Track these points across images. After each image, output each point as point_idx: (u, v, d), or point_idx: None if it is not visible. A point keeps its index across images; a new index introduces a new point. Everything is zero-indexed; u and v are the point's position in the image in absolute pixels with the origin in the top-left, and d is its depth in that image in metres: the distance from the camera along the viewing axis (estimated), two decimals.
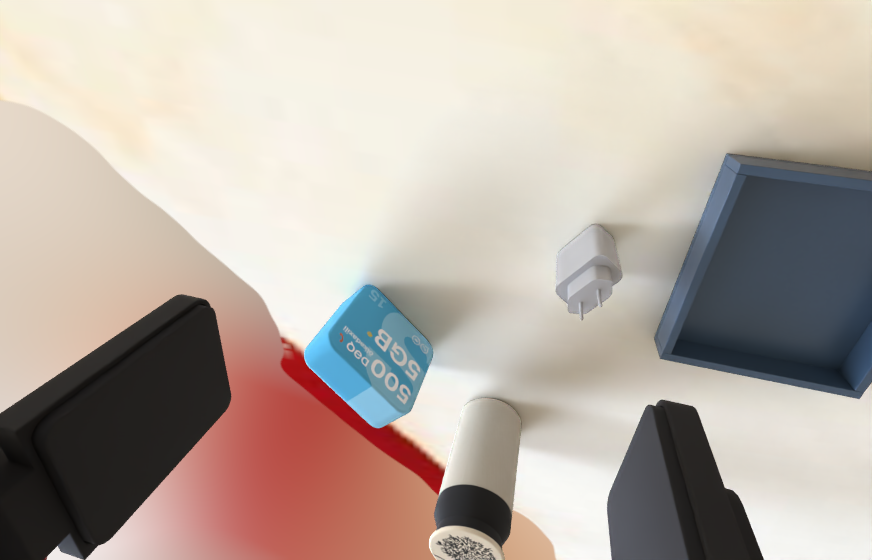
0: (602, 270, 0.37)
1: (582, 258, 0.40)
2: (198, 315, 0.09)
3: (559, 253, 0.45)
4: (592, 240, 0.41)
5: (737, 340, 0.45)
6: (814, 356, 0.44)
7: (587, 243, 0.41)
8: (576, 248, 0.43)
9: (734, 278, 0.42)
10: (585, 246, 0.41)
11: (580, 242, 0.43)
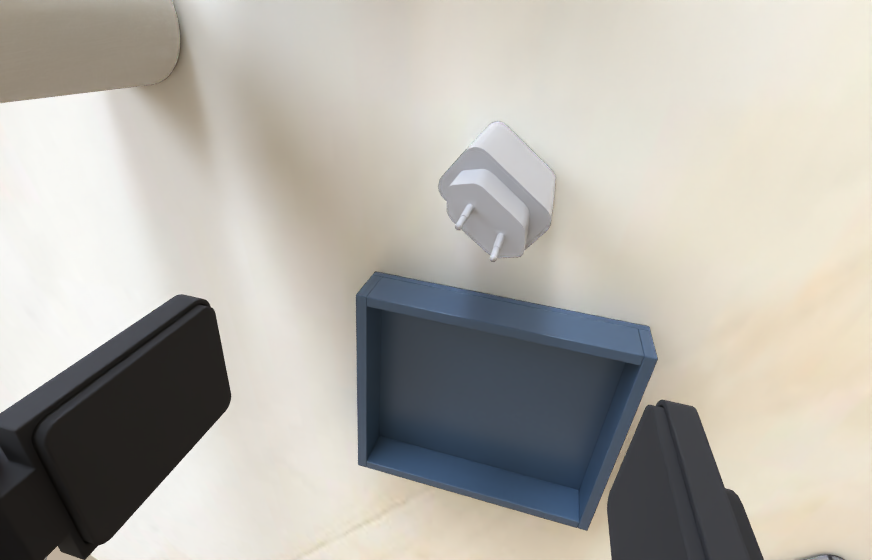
0: (527, 229, 0.21)
1: (532, 185, 0.22)
2: (198, 315, 0.09)
3: (505, 127, 0.26)
4: (550, 188, 0.24)
5: (394, 358, 0.37)
6: (390, 418, 0.40)
7: (544, 182, 0.24)
8: (528, 160, 0.25)
9: (479, 349, 0.34)
10: (540, 179, 0.24)
11: (536, 166, 0.25)
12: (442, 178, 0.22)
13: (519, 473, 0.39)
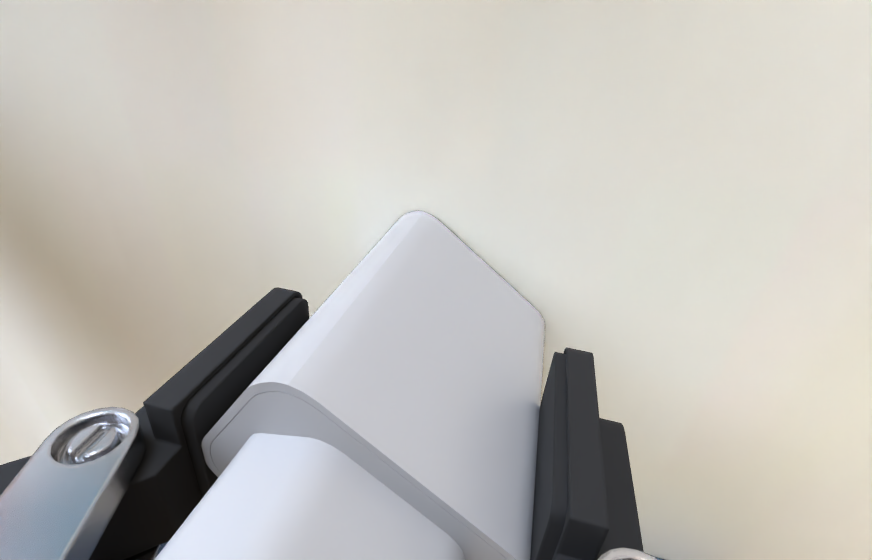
0: None
1: (476, 445, 0.08)
2: (296, 307, 0.10)
3: (432, 227, 0.12)
4: (531, 400, 0.10)
5: None
6: None
7: (515, 386, 0.10)
8: (479, 318, 0.10)
9: None
10: (505, 384, 0.09)
11: (499, 326, 0.11)
12: (207, 441, 0.07)
13: None
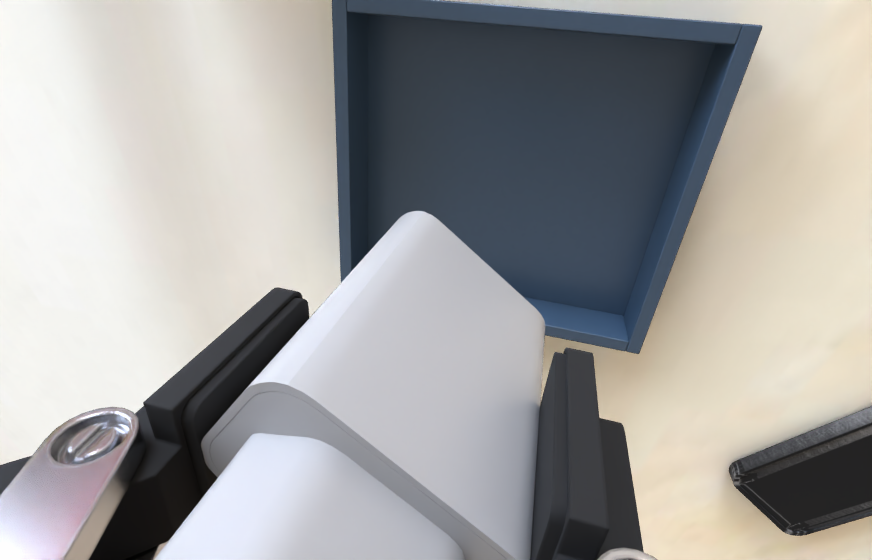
0: None
1: (476, 444, 0.08)
2: (296, 306, 0.10)
3: (432, 227, 0.12)
4: (531, 400, 0.10)
5: (386, 136, 0.28)
6: None
7: (516, 386, 0.10)
8: (479, 318, 0.10)
9: (498, 101, 0.26)
10: (505, 383, 0.09)
11: (499, 326, 0.11)
12: (207, 441, 0.07)
13: (546, 300, 0.31)
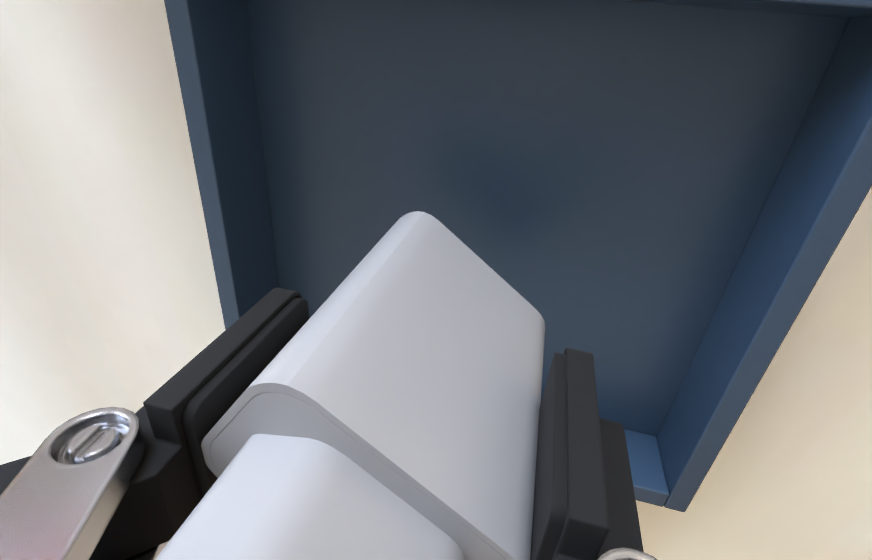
0: None
1: (477, 445, 0.08)
2: (296, 306, 0.10)
3: (432, 227, 0.12)
4: (531, 400, 0.10)
5: (292, 169, 0.18)
6: None
7: (516, 386, 0.10)
8: (479, 318, 0.10)
9: (461, 118, 0.16)
10: (504, 384, 0.09)
11: (499, 326, 0.11)
12: (207, 441, 0.07)
13: None
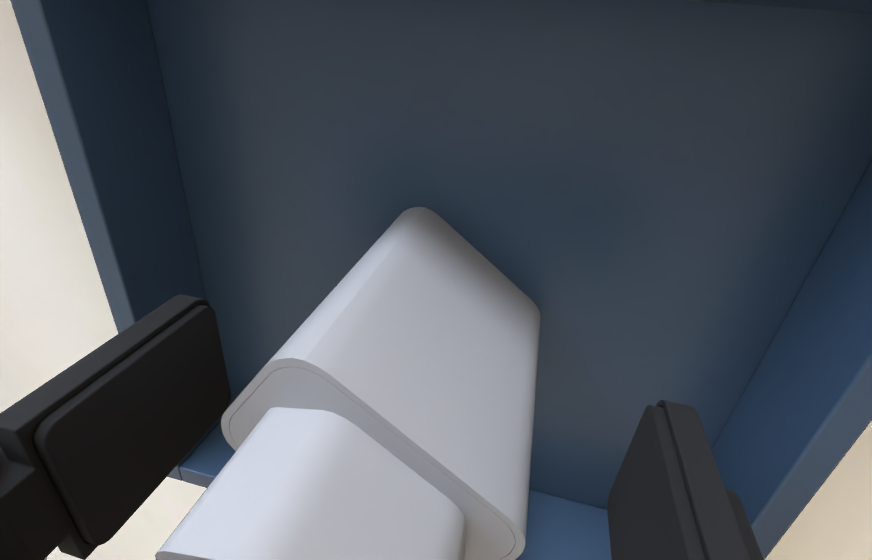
0: None
1: (476, 420, 0.08)
2: (198, 315, 0.09)
3: (432, 222, 0.12)
4: (526, 383, 0.10)
5: (219, 206, 0.15)
6: (242, 370, 0.18)
7: (512, 369, 0.10)
8: (477, 307, 0.11)
9: (423, 147, 0.12)
10: (502, 367, 0.10)
11: (496, 315, 0.11)
12: (227, 416, 0.08)
13: (530, 488, 0.17)
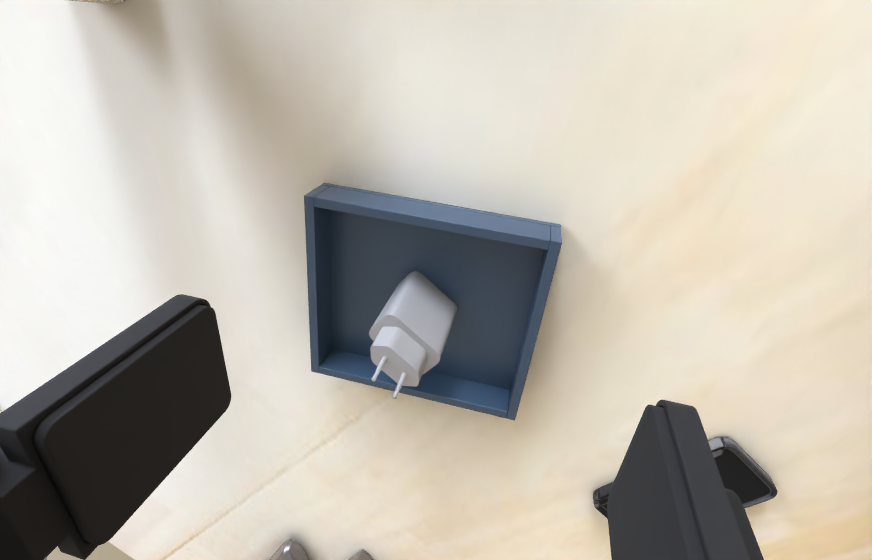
0: (423, 365, 0.33)
1: (429, 332, 0.34)
2: (198, 315, 0.09)
3: (420, 277, 0.38)
4: (446, 326, 0.36)
5: (343, 267, 0.40)
6: (341, 330, 0.44)
7: (442, 322, 0.36)
8: (433, 304, 0.37)
9: (417, 253, 0.38)
10: (439, 321, 0.36)
11: (439, 307, 0.38)
12: (371, 329, 0.34)
13: (458, 377, 0.43)
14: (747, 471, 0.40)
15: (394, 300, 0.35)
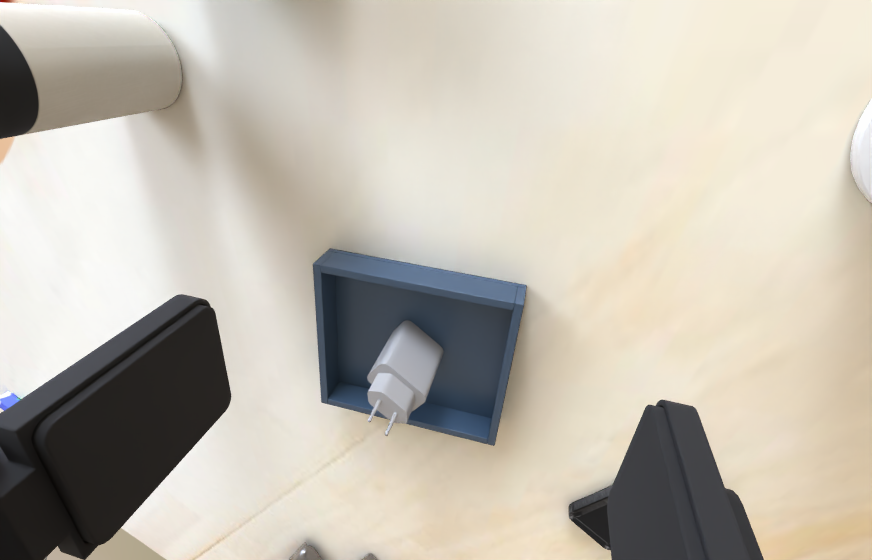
0: (412, 404, 0.40)
1: (417, 376, 0.41)
2: (198, 315, 0.09)
3: (411, 326, 0.45)
4: (432, 369, 0.43)
5: (347, 316, 0.48)
6: (346, 366, 0.51)
7: (429, 366, 0.43)
8: (421, 350, 0.44)
9: (408, 306, 0.45)
10: (426, 365, 0.43)
11: (427, 352, 0.44)
12: (369, 375, 0.41)
13: (447, 407, 0.50)
14: None
15: (388, 349, 0.42)
